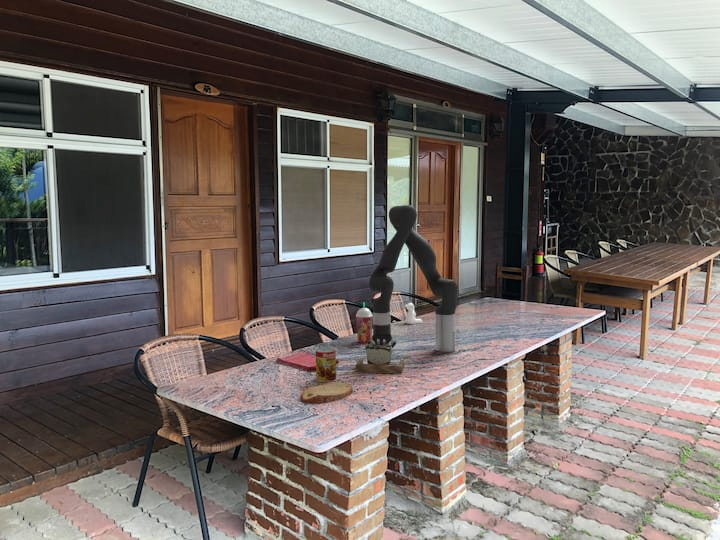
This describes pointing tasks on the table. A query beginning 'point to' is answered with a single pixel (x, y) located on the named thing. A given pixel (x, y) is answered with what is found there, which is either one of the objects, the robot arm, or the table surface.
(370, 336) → the smoothie
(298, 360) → the dish towel
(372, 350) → the food container
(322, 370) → the canned food
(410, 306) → the white creature statuette
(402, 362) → the walnut dock
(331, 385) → the bread slice
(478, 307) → the table surface
